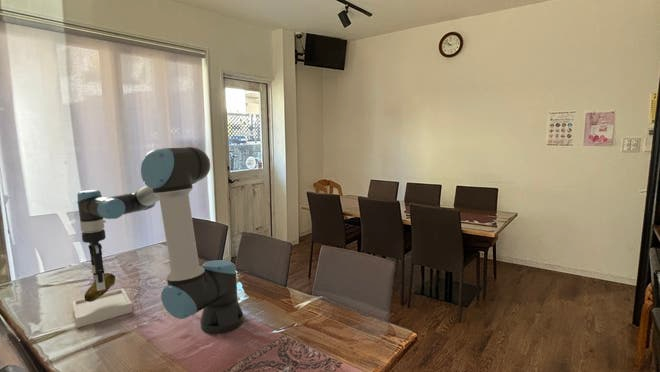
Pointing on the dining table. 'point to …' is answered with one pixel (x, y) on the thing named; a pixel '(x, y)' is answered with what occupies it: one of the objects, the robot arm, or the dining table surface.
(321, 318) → the dining table surface
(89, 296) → the potato
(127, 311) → the rectangular tray
